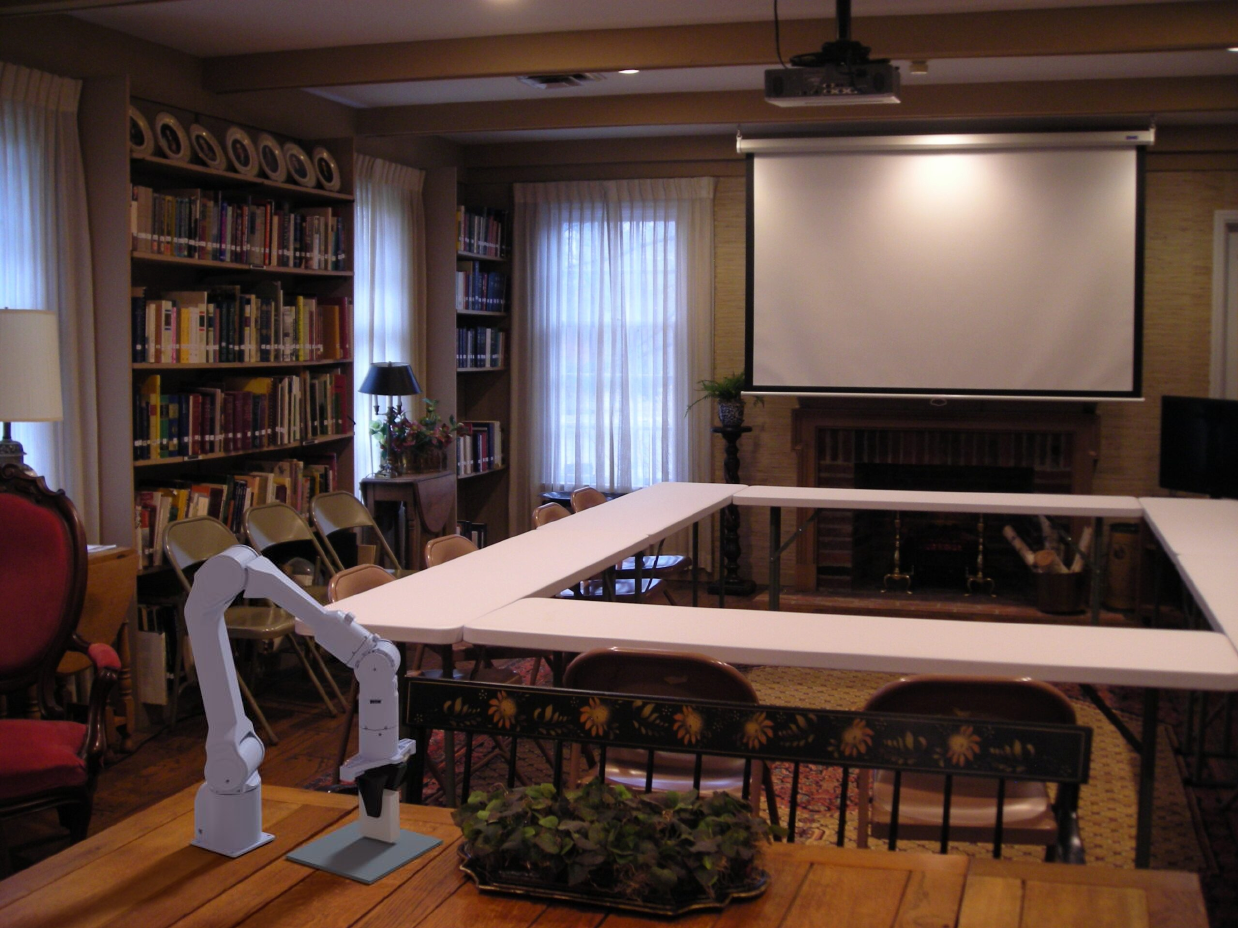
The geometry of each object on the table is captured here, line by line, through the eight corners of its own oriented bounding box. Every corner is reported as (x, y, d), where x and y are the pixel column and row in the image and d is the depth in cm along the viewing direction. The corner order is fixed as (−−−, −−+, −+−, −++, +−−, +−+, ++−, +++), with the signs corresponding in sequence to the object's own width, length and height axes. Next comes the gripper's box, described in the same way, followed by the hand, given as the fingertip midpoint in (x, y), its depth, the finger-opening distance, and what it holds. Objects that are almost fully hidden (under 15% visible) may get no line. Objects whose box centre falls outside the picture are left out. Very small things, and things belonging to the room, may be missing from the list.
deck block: (359, 834, 174) (358, 788, 173) (368, 829, 175) (367, 784, 175) (390, 842, 171) (389, 796, 170) (399, 837, 172) (398, 791, 172)
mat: (285, 858, 168) (285, 854, 167) (361, 820, 181) (361, 817, 181) (370, 884, 160) (370, 880, 160) (442, 842, 174) (442, 839, 174)
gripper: (365, 742, 163) (366, 835, 164) (431, 715, 176) (431, 802, 177) (328, 734, 167) (329, 825, 168) (395, 708, 179) (395, 793, 181)
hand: (379, 813), depth 173 cm, fingers closed on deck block, 2 cm apart
